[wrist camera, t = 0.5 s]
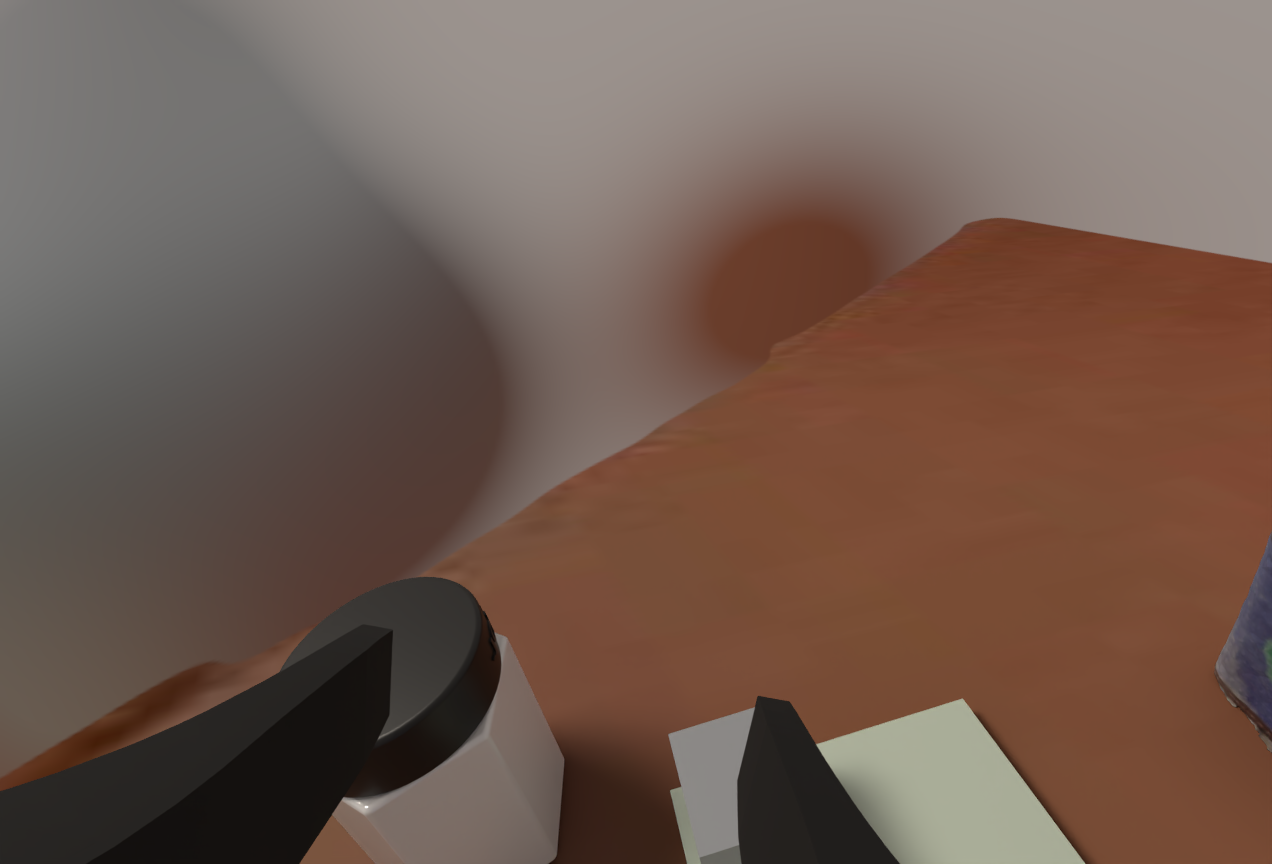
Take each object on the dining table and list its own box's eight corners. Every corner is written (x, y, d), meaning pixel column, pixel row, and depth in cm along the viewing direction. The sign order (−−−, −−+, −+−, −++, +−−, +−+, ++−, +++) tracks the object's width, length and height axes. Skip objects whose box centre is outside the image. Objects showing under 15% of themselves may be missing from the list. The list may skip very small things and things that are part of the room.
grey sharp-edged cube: (836, 884, 24) (829, 816, 21) (720, 922, 23) (699, 857, 21) (788, 769, 28) (778, 700, 25) (688, 801, 27) (668, 734, 25)
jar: (605, 773, 30) (532, 601, 24) (500, 963, 25) (371, 802, 19) (471, 713, 35) (381, 555, 29) (356, 862, 29) (215, 706, 23)
